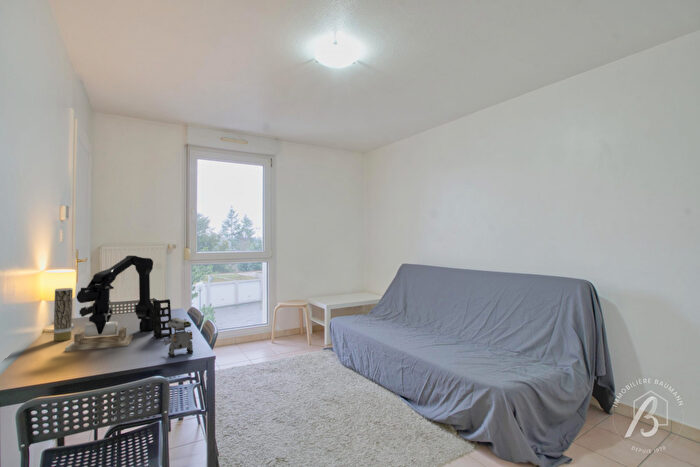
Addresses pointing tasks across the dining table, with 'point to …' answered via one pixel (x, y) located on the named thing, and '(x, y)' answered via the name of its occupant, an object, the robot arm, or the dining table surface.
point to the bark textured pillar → (63, 314)
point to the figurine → (179, 336)
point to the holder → (157, 319)
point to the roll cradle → (99, 341)
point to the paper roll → (108, 330)
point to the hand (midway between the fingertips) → (101, 332)
